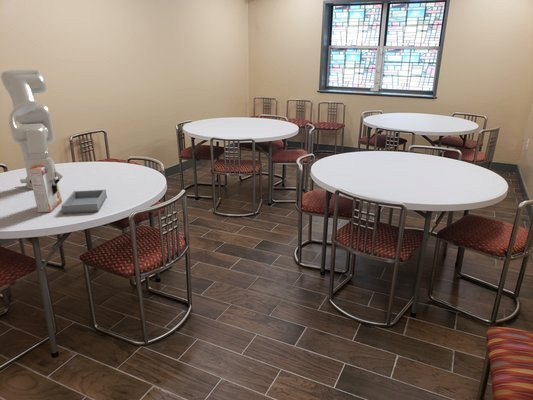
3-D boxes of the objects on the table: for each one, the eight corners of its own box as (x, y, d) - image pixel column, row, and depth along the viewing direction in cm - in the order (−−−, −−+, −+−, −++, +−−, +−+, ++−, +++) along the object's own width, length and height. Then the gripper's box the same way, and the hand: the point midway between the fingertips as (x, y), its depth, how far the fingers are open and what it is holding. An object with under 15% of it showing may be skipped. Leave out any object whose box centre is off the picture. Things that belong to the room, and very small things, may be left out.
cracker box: (49, 202, 197) (41, 160, 190) (62, 201, 198) (54, 159, 190) (36, 213, 184) (27, 168, 177) (50, 212, 184) (41, 168, 177)
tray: (63, 214, 183) (61, 205, 181) (75, 198, 201) (73, 191, 200) (98, 211, 185) (97, 203, 184) (106, 197, 204) (105, 189, 202)
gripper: (15, 158, 177) (24, 197, 184) (57, 156, 180) (64, 194, 186) (22, 154, 184) (30, 191, 190) (62, 152, 187) (69, 189, 193)
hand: (47, 192), depth 188 cm, fingers closed on cracker box, 6 cm apart
